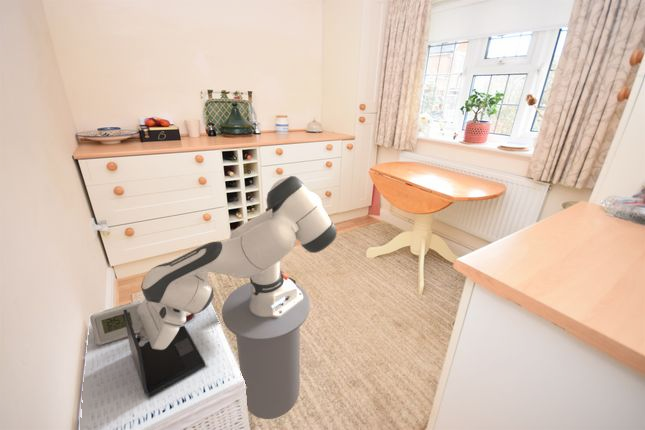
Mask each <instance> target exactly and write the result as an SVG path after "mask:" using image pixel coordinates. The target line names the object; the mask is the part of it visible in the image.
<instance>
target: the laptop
mask: <svg viewBox="0 0 645 430" xmlns="http://www.w3.org/2000/svg"><path fill="white" fill-rule="evenodd" d="M189 333H190V332H188V330H187V328H186V326H185V325H182V326H180V327H179V331H178V333H177V334H176V336H175V337H174V339H173V340H172V341H171V343H170V344H169V345H168V347H167V348H166V349H163V350H157V349H153V348H152V347H151V344H150V342H149V341H147V342H146V343H145V344H144V346H139V347H140V350H141V355H142V361H143V367H144V373H145V379H146V385H147V391H148V397H149V398H151V397H153V396H155V395H157V394H159V393H160V392H162V391H164V390H165V389H167V388H169V387H171V386H173V385H174V384H176V383H178V382H180V381H181V380H184V379H185V378H187V377H189V376H191V375H192V374H194V373H196V372H198V371H200V370H201V369H203V368H205V367H206V364H205V361H204V359H203V357H202V355H201V354H200V351H199V349H198V348H197V346H196V344H195V342H194V341H193V339H192V337H191V335H190V334H189Z"/></svg>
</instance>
